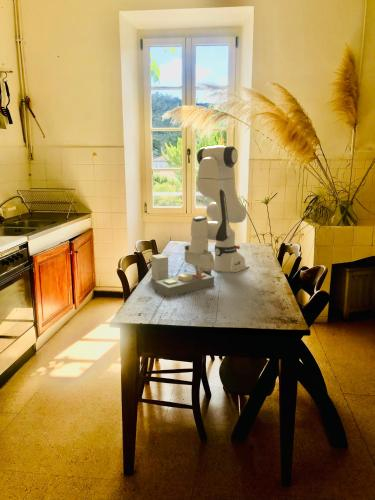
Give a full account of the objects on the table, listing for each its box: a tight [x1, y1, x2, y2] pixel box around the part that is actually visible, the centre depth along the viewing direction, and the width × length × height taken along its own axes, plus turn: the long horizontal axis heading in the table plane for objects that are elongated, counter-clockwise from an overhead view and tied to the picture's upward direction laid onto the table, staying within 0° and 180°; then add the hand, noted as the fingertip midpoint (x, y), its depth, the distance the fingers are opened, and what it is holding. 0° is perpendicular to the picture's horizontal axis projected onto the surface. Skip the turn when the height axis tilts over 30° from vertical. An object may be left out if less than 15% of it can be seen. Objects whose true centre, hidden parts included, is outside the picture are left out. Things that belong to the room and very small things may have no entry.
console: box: [154, 271, 215, 298], centre depth 197 cm, size 28×12×4 cm, turn 127°
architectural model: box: [199, 269, 212, 276], centre depth 218 cm, size 3×7×7 cm, turn 77°
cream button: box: [178, 273, 192, 282], centre depth 196 cm, size 5×5×4 cm
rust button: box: [193, 274, 206, 278], centre depth 202 cm, size 5×5×4 cm
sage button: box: [163, 279, 177, 285], centre depth 191 cm, size 5×5×4 cm
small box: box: [151, 253, 169, 282], centre depth 208 cm, size 8×6×13 cm
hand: (198, 274), depth 201 cm, fingers closed, pressing on rust button
